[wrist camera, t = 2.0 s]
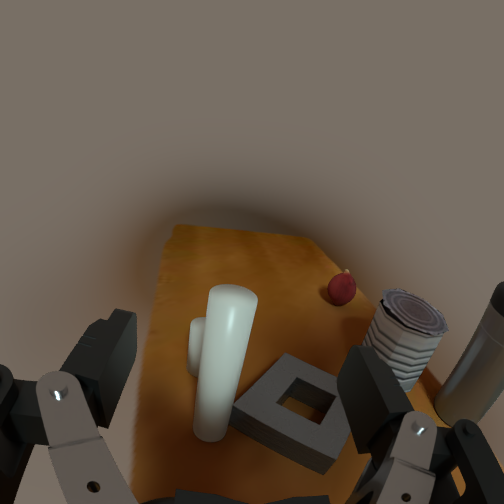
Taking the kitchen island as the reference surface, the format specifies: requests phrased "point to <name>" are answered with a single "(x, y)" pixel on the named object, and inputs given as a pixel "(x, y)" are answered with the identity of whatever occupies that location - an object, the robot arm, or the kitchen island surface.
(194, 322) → the short pin
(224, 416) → the long pin
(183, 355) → the kitchen island surface
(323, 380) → the hole plate
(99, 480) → the robot arm
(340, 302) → the onion
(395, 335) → the can
